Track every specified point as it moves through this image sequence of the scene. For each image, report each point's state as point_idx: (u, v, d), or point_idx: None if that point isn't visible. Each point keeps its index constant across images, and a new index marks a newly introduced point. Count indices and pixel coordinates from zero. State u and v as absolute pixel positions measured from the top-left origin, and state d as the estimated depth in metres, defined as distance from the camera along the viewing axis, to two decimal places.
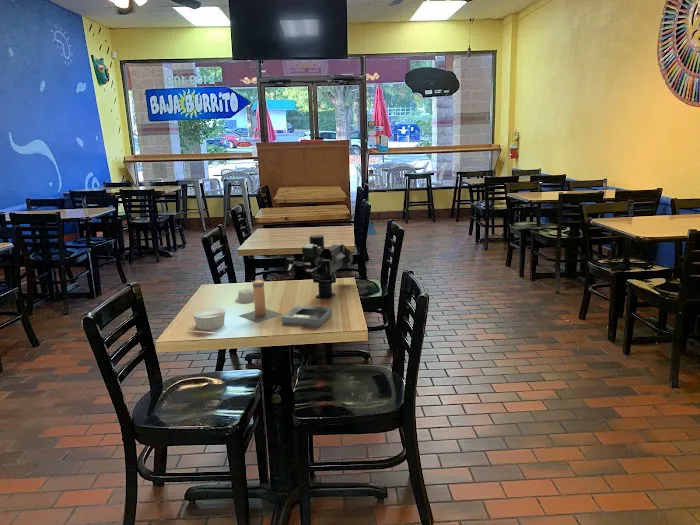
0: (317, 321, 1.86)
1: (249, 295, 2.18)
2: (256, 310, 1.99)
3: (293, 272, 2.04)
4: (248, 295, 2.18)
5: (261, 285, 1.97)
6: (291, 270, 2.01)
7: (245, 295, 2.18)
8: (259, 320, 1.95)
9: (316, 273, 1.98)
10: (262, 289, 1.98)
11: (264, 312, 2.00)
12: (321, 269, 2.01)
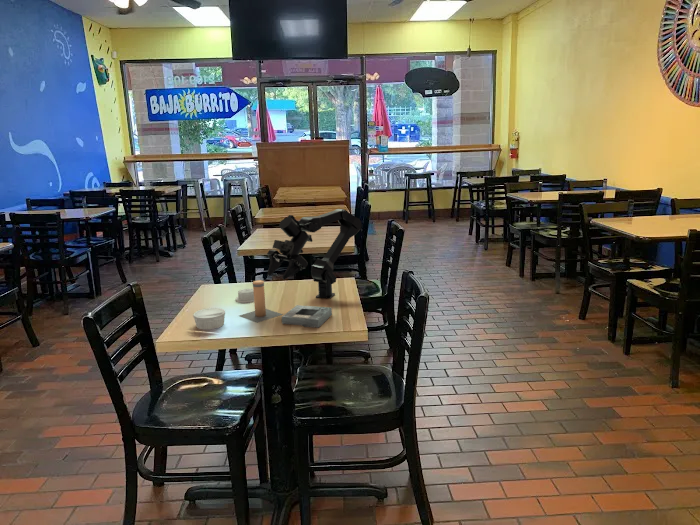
0: (317, 321, 1.86)
1: (249, 295, 2.18)
2: (256, 310, 1.99)
3: (277, 266, 2.10)
4: (248, 295, 2.18)
5: (261, 285, 1.97)
6: (272, 269, 2.08)
7: (245, 295, 2.18)
8: (259, 320, 1.95)
9: (290, 274, 2.01)
10: (262, 289, 1.98)
11: (264, 312, 2.00)
12: (295, 265, 2.02)
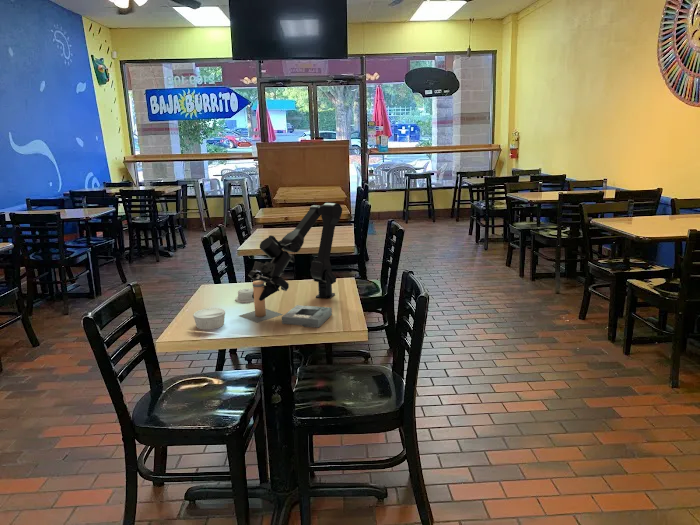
0: (317, 321, 1.86)
1: (249, 295, 2.19)
2: (256, 310, 1.99)
3: None
4: (248, 294, 2.18)
5: (261, 285, 1.97)
6: None
7: (245, 295, 2.18)
8: (259, 320, 1.95)
9: (266, 295, 1.98)
10: (262, 289, 1.98)
11: (264, 312, 2.00)
12: (271, 286, 1.98)
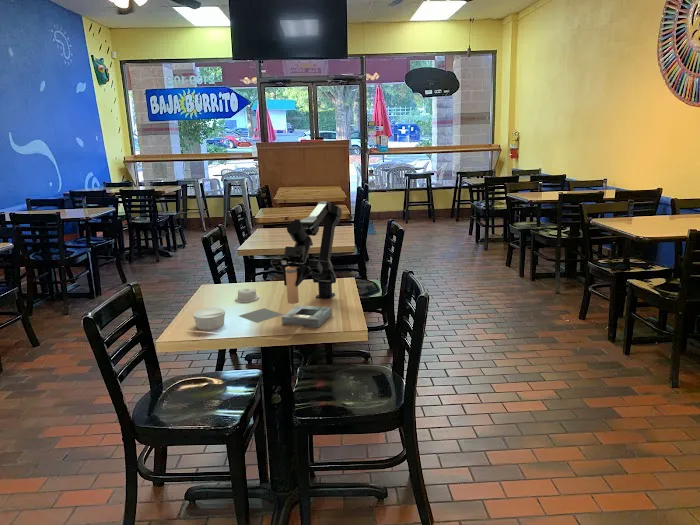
0: (317, 321, 1.86)
1: (248, 295, 2.19)
2: (291, 297, 1.92)
3: None
4: (248, 294, 2.19)
5: (296, 270, 1.91)
6: None
7: (244, 295, 2.18)
8: (259, 320, 1.95)
9: (301, 280, 1.93)
10: (296, 274, 1.92)
11: (298, 298, 1.94)
12: (304, 271, 1.94)
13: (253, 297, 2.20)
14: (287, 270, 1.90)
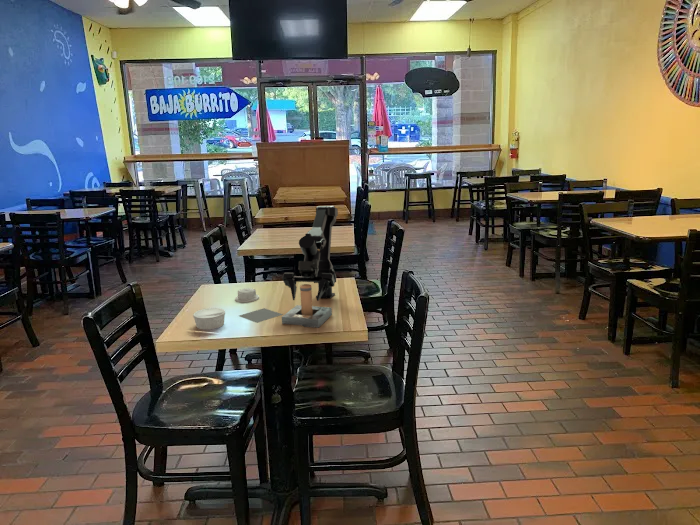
0: (317, 321, 1.86)
1: (248, 295, 2.19)
2: None
3: (295, 288, 1.97)
4: (247, 294, 2.19)
5: (311, 288, 1.92)
6: (294, 292, 1.95)
7: (244, 294, 2.19)
8: (259, 320, 1.95)
9: (321, 294, 1.93)
10: (311, 292, 1.93)
11: None
12: (324, 284, 1.95)
13: (253, 297, 2.20)
14: (302, 288, 1.91)
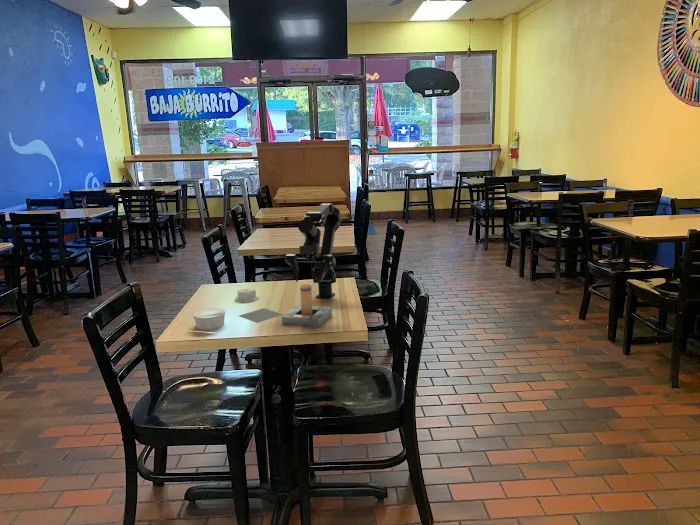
0: (317, 321, 1.86)
1: (248, 294, 2.19)
2: None
3: (298, 269, 2.04)
4: (247, 294, 2.19)
5: (311, 288, 1.92)
6: (297, 274, 2.02)
7: (244, 294, 2.19)
8: (259, 320, 1.95)
9: (323, 275, 2.00)
10: (311, 292, 1.93)
11: None
12: (325, 265, 2.00)
13: (253, 297, 2.21)
14: (302, 288, 1.91)
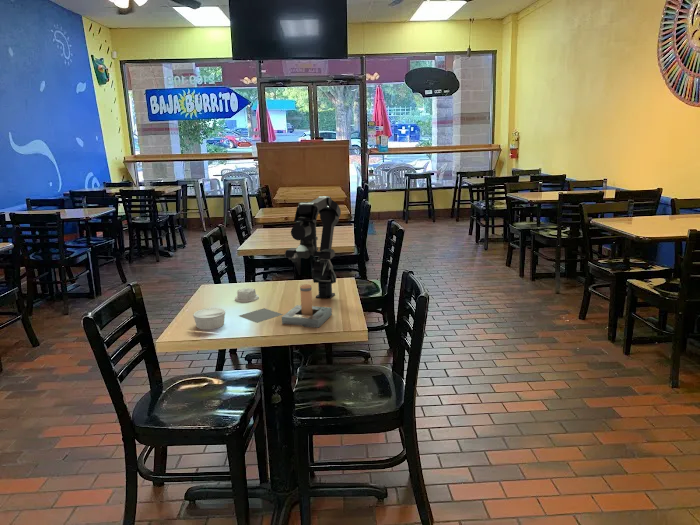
0: (317, 321, 1.86)
1: (248, 294, 2.19)
2: None
3: (300, 260, 2.09)
4: (247, 294, 2.19)
5: (311, 288, 1.92)
6: (299, 267, 2.08)
7: (244, 294, 2.19)
8: (259, 320, 1.95)
9: (324, 268, 2.06)
10: (311, 292, 1.93)
11: None
12: None
13: (252, 297, 2.21)
14: (303, 288, 1.91)
